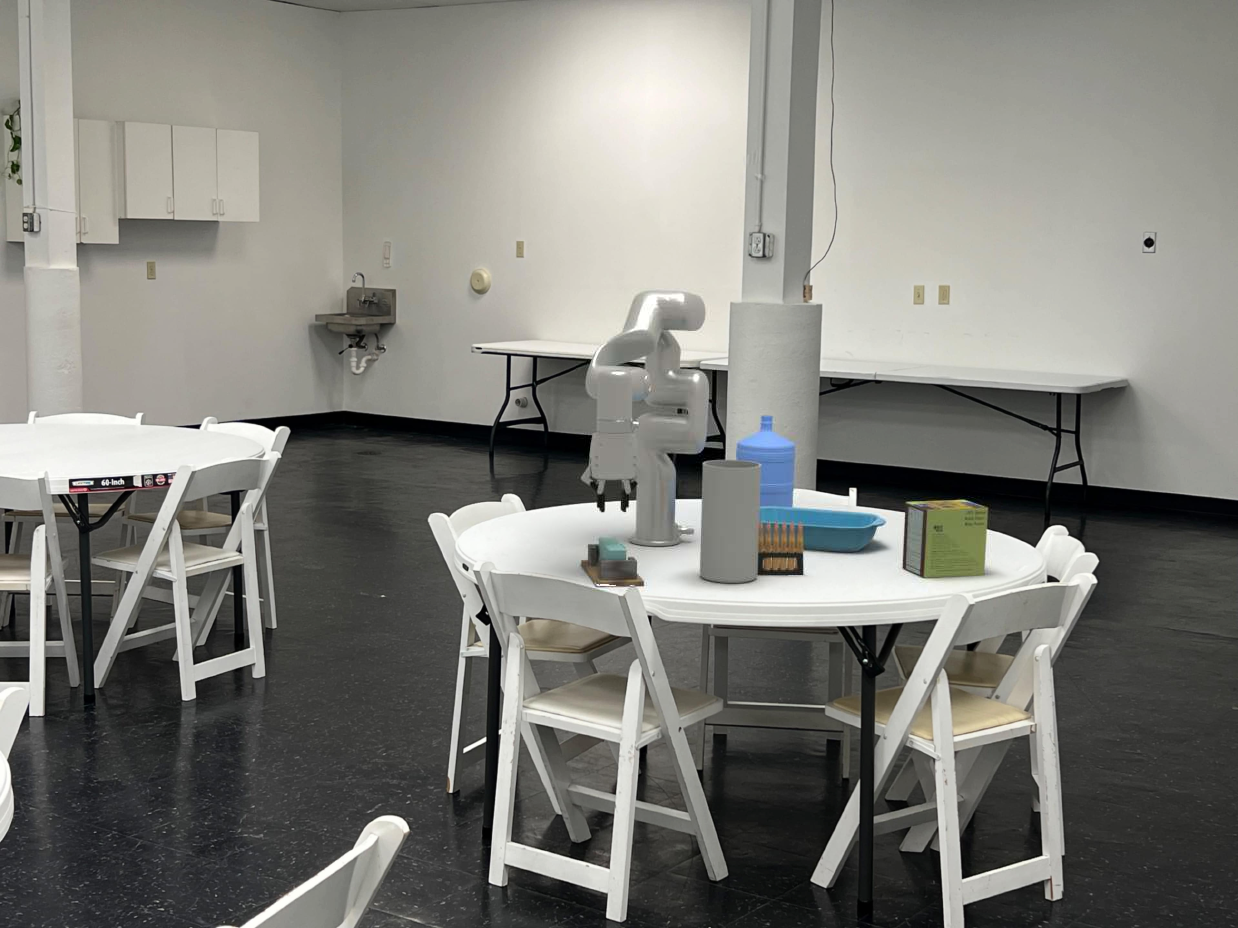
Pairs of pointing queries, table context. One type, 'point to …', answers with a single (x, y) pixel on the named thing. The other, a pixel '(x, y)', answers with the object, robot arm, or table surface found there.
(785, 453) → the water jug
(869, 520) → the casserole dish
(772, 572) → the ammunition clip
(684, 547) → the table surface
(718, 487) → the cylinder vase
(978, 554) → the protein box
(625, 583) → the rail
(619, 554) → the teal long block
